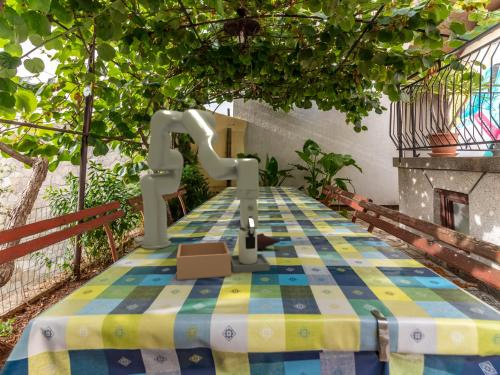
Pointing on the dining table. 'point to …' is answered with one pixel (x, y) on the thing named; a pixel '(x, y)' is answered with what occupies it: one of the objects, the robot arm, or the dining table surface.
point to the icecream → (265, 241)
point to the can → (246, 254)
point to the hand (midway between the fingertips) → (248, 245)
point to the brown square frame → (203, 260)
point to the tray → (258, 266)
